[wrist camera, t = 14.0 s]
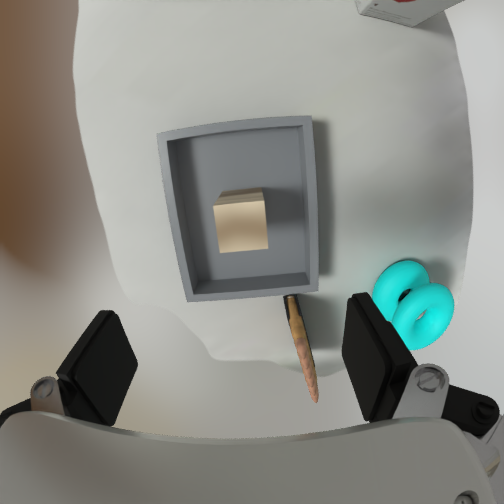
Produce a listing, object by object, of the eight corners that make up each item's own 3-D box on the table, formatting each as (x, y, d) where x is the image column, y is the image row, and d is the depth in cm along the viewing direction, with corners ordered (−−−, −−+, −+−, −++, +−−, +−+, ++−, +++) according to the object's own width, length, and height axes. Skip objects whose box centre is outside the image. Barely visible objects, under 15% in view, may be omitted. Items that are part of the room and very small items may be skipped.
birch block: (222, 191, 31) (213, 205, 24) (261, 187, 31) (264, 200, 24) (227, 227, 33) (219, 253, 26) (264, 224, 33) (268, 248, 25)
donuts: (467, 307, 28) (422, 361, 31) (433, 275, 37) (396, 322, 40) (435, 277, 26) (381, 342, 29) (397, 245, 35) (356, 299, 38)
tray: (168, 134, 30) (156, 133, 25) (303, 119, 29) (311, 115, 25) (193, 284, 37) (187, 302, 33) (311, 274, 36) (318, 291, 32)
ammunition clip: (282, 296, 38) (293, 355, 27) (295, 292, 38) (311, 350, 26) (298, 349, 42) (310, 408, 30) (310, 346, 41) (324, 404, 30)
